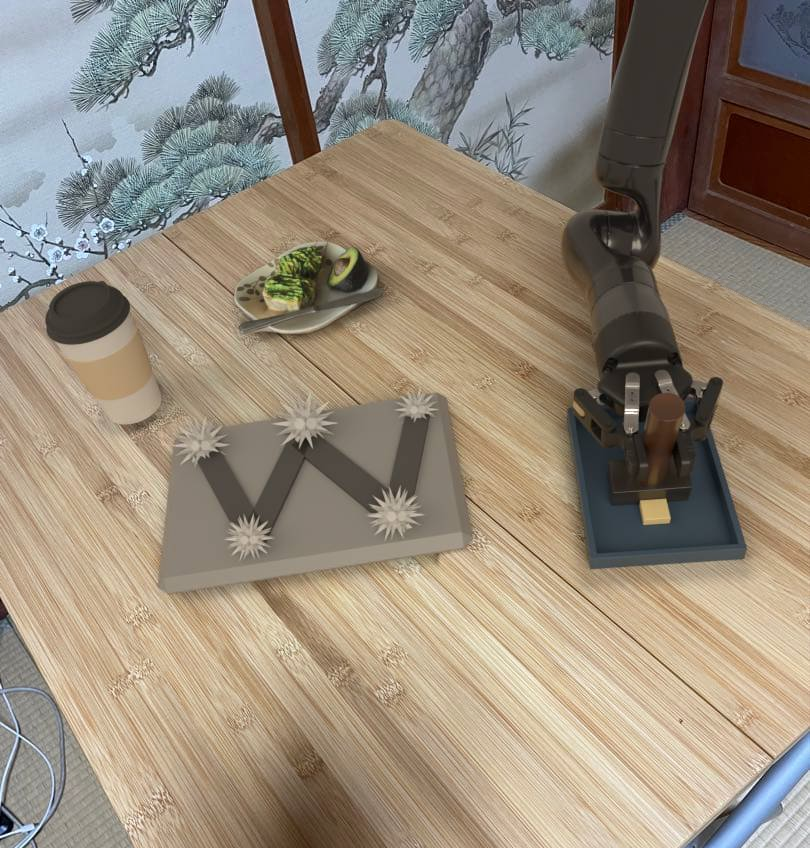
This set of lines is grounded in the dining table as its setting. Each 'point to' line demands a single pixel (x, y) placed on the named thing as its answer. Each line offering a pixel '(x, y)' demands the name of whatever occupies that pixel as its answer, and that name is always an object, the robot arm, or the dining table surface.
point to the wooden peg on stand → (653, 458)
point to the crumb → (654, 511)
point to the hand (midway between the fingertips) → (664, 472)
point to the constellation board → (312, 493)
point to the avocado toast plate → (306, 289)
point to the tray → (690, 520)
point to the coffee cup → (105, 349)
